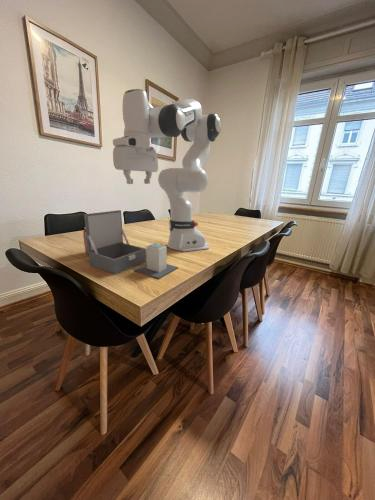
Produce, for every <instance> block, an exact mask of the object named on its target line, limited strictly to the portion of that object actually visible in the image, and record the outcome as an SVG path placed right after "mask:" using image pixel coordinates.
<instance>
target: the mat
mask: <svg viewBox="0 0 375 500" xmlns="http://www.w3.org/2000/svg"><path fill="white" fill-rule="evenodd" d="M178 269H179V267H178V266H176V265H172V264H169V263H166V269H164V270H162V271H160V272H157V271H154V270H151V269H147V263H146V264H143V265H141V266H140V267H137V268H134V269H133V271H134V272H137V273H139V274H142V275H145V276H148V277H151V278H154V279H157V280H160V279H162V278H163V277H166V276H167V275H169V274H171V273H172V272H175V271H176V270H178Z"/></svg>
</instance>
